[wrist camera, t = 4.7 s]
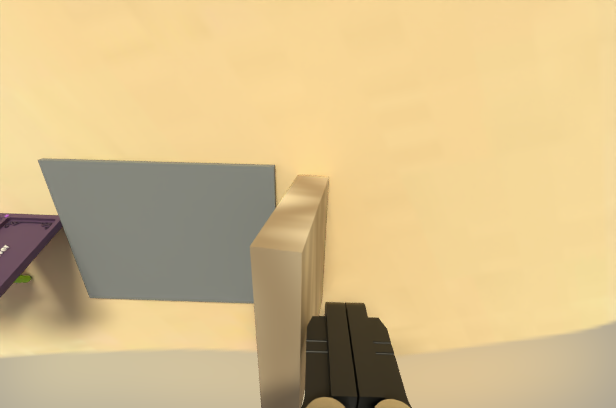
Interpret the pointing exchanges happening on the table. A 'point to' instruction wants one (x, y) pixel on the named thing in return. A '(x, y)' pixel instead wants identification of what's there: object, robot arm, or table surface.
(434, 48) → the table surface
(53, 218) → the purple toy case
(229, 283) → the felt mat
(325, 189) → the tile
